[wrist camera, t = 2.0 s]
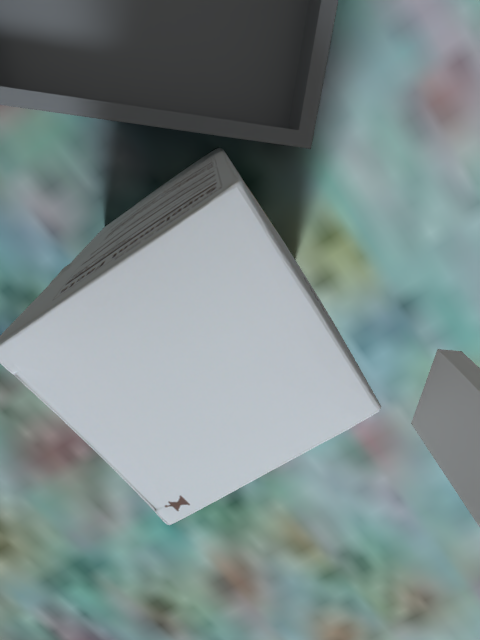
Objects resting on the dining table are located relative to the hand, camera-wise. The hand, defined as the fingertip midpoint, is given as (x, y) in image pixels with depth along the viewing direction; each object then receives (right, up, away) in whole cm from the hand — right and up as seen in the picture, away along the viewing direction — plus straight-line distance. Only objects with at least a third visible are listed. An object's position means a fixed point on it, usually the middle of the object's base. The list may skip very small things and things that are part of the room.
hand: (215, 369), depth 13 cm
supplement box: (-2, +6, +17) cm, 18 cm away
